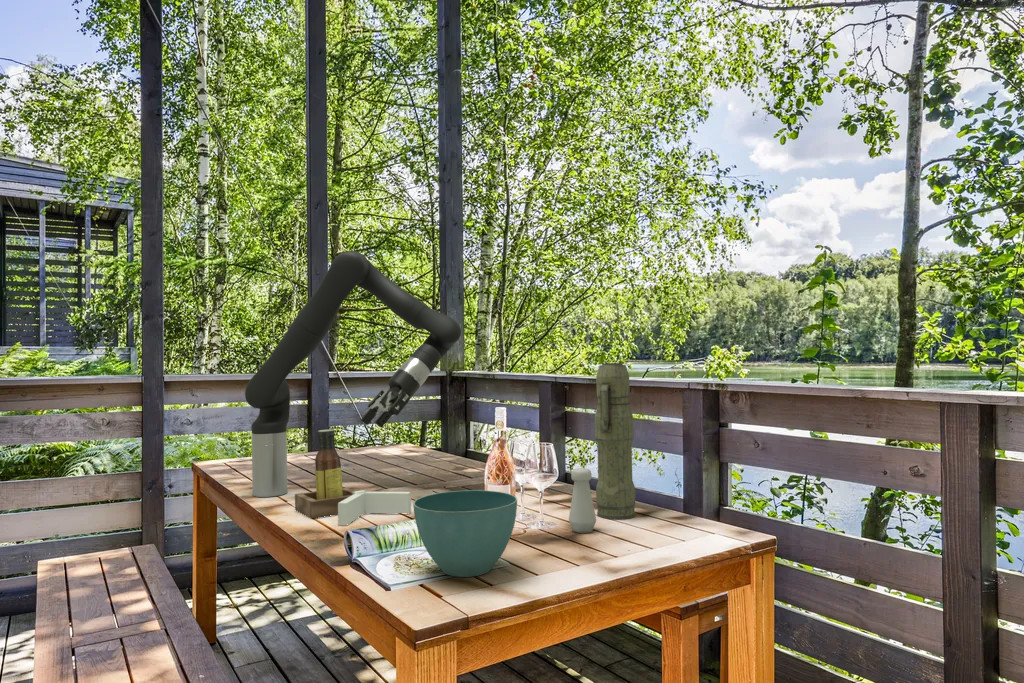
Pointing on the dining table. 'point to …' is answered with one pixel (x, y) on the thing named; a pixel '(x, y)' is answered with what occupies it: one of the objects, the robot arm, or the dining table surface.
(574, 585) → the dining table surface
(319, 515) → the collar
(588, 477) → the salt shaker
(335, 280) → the robot arm
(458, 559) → the plant pot
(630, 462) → the thermos
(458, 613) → the dining table surface
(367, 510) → the v block
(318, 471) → the sauce bottle
